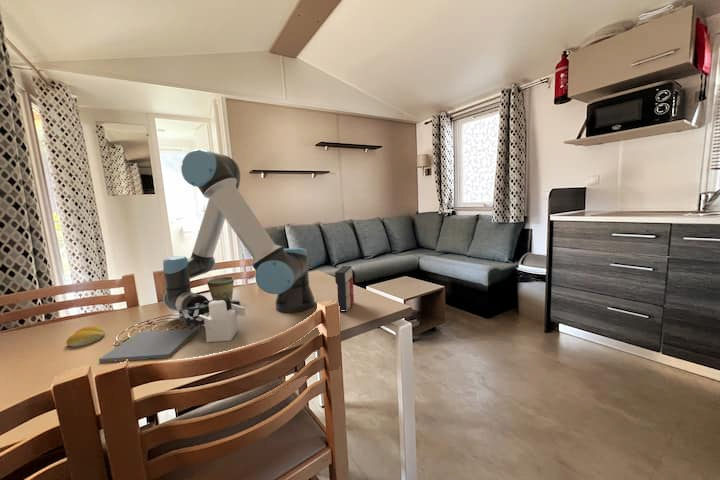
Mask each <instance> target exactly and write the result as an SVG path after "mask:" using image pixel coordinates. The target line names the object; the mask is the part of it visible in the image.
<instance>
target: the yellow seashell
mask: <svg viewBox="0 0 720 480" xmlns="http://www.w3.org/2000/svg"><path fill="white" fill-rule="evenodd" d="M105 334H106V332H105V330H104V328H103V327H100V326H98V325H90V326H84V327H81V328H79V329H78V330H76V331H75V332H74V333H73V334H72V335H70V336H69V337H68V338H67V340H66V346H67V347H68V346H69V347H75V348H77V347H82V346H87V345H90V344H93V343H95V342H98V341H99V340H101V339H102V338H103V337H104V336H105Z"/></svg>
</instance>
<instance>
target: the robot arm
mask: <svg viewBox="0 0 720 480" xmlns="http://www.w3.org/2000/svg"><path fill="white" fill-rule="evenodd" d="M181 163H182V164H181V167H180V169H181V174H182V177H183V179H184V181H185V182H186V183H187V184H188V185H191V186H192V187H196V188H198V189H199V191H200V193H201V194H202V195H203V197H204V198H205V199H208V201H207V205H206V208H205V211H204V214H203V218H202V221H201V223H200V226H199V229H198V233H197V236H196V240H195V243H194V247H193V249H192V252H191V256H190V257H189V258H187V256H185V255H178V256H170V257H167V258H164V259H163V261H162V265H163V266H162V268H163V269H162V272H163V276H164V283H165V292H164V294H163V297H162V302H163V304H164V305H165V306H166V307H168V308H169V309H170V310H173V311H177V312H178V316H179V319H181V320H183V322H184V324H185V326H186V327H190V326H192V324H193V327H194V328H197V327H199V326H203V327H204V328H205V327H207V328H209V329H212V328H213V322H212V319H211V318H208V316H206V315H205V314H210V313H209V304H208V303H209V302H210V301H211V300H209V299H208V298H207V297H206V296H204V295H202V294H198V293H197V292H192V289H191V279H194V278H196V277H198V276H202V275H204V274H207V273H209V272H210V271H212V270H213V269H214V268H215V265H216V261H215V260H216V259H215V257H214V254H215V250H216V249H217V245H218V243H219V242H218V241H219V239H220V236H221V233H222V230H223V227H224V224H225V222H226V221H227V223H228V224H229V226H230V227H231V229H232V230H233V232H234V233H235V234H236V236H237V237H238V239H239V240H240V242H241V243H242V244H243V246H244V248H245V249H246V250H247V252H248V253H249V255H250V257H251V258H252V262H251V266H252V267H253V269H254V270H255V278H254V279H255V282H256V285H257V286H258V287H259V288H260V290H262V291H263V292H264V293H265V292H266V293H267V294H271V295H277V296H276V298H275V302H274V303H275V309H276V310H277V311H278V312H283V313H298V312H303V311H306V310H309V309H311V308H312V307H314V306H315V305H316V304H315V296H314V294H313V292H312V289H311V286H310V278H309V262H308V261H309V259H308V257H309V255H308V250H307V249H306V248H303V247H302V248H301V247H300V248H299V247H297V248H296V247H295V248H284V247H283V246H282V245H277V244H276V243H275V242H274V241H273V239H272V238H271V237H270V235H269V233H268V231H266V229H265V228H264V226H263V225H262V223H261V222H260V220H259V219H258V217H257V216H256V215H255V213H254V211H253V210H252V209H251V207H250V205H249V204H248V203H247V201H246V200H245V198H244V197H243V195H242V194H241V192H240V191H239V186H240V183H241V170H240V167H239V165H238V164H237V162H236V161H235V160H234V159H233V158H231V157H230V156H228V155H224V154H220V153H218V152H213V151H210V150H207V149H194V150H191V151H189V152H188V153H186V155H185V156H184V157H183V159H182V161H181ZM240 303H241V302H240V300H233V299H232V300H230V304H231V310H236V313H237V316H241V317H246V316H247V315H246V307H245V306H242V305H241V304H240Z"/></svg>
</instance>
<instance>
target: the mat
mask: <svg viewBox="0 0 720 480" xmlns="http://www.w3.org/2000/svg"><path fill="white" fill-rule="evenodd" d="M196 333H198V328H188V329H187V328H186V329H185V328H184V329H171V330H155V331H144V332H143V331H142V332H141V331H140V332H138V333H136V334H134V335H133V336H131V337H129V338H128V339H126V340H125V341H124V342H122V343H121V344H120V345H118V346H116V347H115V348H113V349H112V350H111V351H108V353H106V354H104V355H103V356H101V357H100V358H99V359H98V361H99V363H110V361H114V362H124V361H125V360H126V359H128V361H139V360H140V361H141V359H142V360H150V359H149V358H156V359H168V358H171V357H172V356H173V355H174V354H175V353H177V351H179V349H180V348H182V347H183V346H184V345H185V343H187V342H188V341H189V340H190V339H191V338H192V337H193V336H195V335H196ZM115 360H116V361H115ZM123 360H124V361H123Z"/></svg>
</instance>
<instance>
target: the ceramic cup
mask: <svg viewBox="0 0 720 480" xmlns="http://www.w3.org/2000/svg"><path fill="white" fill-rule="evenodd" d="M234 280H235V277H233V276H220V277H219V276H218V277H216V278H215V277H214V278H212V279H208V280H207V282H206V284H207V287H208V291H209V292H210V296H211V298H212V299H211V300H213V299H216V298H222V297H224V298H229V299H230V300H233V293H234V283H235V281H234Z"/></svg>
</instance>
